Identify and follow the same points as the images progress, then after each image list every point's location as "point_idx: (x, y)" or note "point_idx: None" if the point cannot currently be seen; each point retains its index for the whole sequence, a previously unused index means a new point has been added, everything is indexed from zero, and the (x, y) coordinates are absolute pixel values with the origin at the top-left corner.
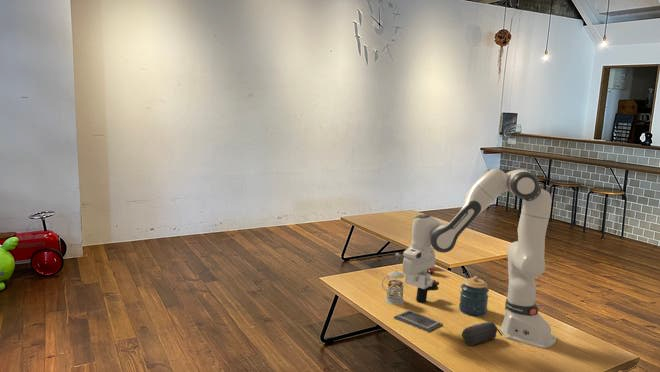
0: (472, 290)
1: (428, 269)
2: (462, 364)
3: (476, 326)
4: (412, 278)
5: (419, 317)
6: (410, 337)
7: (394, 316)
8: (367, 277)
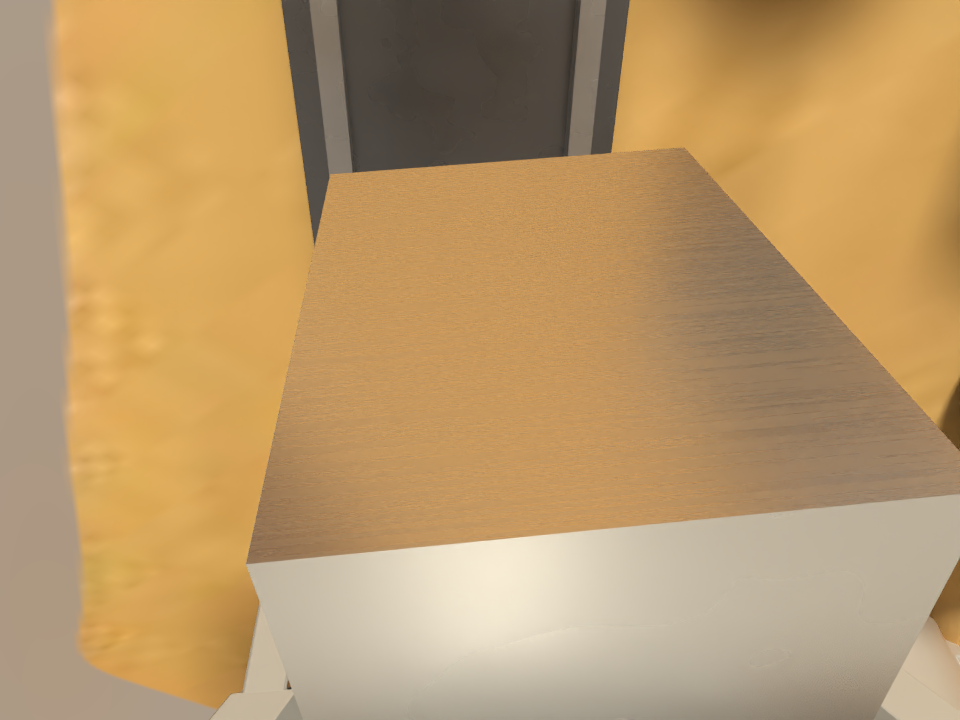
0: None
1: None
2: (184, 684)
3: None
4: (248, 679)
5: (543, 142)
6: (108, 330)
7: None
8: None
